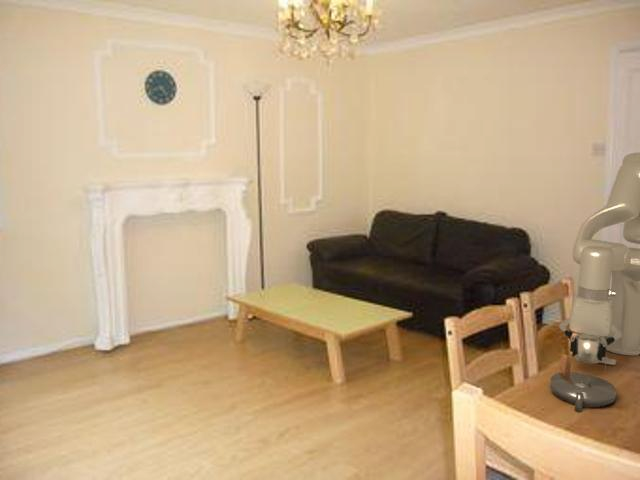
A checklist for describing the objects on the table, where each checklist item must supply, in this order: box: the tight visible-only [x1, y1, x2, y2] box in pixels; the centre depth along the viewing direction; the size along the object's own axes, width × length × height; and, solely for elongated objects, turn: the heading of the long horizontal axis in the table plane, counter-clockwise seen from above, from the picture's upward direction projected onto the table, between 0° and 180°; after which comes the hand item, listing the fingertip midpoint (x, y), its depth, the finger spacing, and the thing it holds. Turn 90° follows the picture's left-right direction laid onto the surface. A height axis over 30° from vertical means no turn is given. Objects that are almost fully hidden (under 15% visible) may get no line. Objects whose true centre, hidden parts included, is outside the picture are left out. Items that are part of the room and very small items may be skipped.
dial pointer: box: [574, 390, 584, 413], centre depth 140 cm, size 3×2×4 cm, turn 152°
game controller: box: [598, 355, 617, 373], centre depth 166 cm, size 6×12×3 cm, turn 172°
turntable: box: [549, 353, 617, 406], centre depth 146 cm, size 15×15×7 cm
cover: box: [574, 333, 601, 365], centre depth 158 cm, size 6×6×6 cm
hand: (587, 356), depth 158 cm, fingers closed on cover, 6 cm apart
